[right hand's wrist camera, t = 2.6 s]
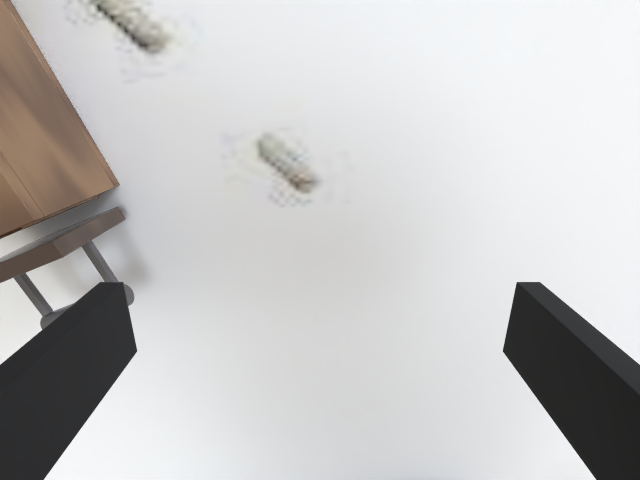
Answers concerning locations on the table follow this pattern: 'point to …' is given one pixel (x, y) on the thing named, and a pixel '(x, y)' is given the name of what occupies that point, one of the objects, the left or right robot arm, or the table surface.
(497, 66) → the table surface
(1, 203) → the cabinet
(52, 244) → the drawer
